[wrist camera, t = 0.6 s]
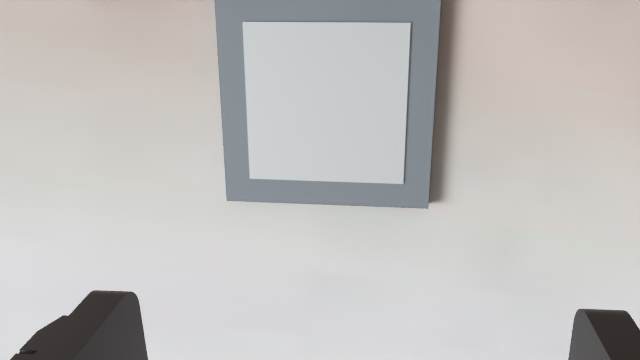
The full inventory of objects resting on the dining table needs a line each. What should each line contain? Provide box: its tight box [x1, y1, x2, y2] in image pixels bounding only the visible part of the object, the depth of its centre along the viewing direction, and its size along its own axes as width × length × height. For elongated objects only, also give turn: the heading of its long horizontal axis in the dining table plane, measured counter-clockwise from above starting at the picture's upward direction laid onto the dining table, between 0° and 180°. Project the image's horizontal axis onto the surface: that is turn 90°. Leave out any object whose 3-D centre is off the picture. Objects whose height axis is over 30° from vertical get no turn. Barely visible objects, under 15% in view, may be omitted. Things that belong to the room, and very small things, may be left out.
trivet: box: [215, 0, 441, 209], centre depth 34 cm, size 12×12×1 cm
